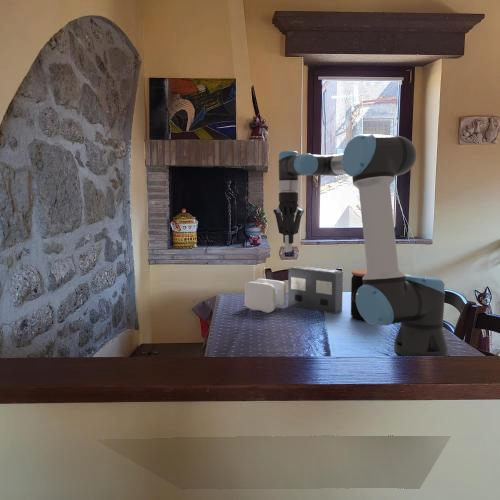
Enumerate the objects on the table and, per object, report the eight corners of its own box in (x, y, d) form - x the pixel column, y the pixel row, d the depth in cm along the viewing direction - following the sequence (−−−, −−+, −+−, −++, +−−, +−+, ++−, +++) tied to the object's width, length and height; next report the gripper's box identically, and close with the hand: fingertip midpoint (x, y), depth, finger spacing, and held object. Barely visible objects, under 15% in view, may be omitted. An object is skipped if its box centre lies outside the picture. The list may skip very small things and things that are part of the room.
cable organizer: (242, 308, 185) (242, 281, 184) (257, 303, 194) (257, 277, 192) (273, 314, 177) (272, 285, 175) (287, 308, 185) (287, 281, 183)
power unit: (334, 313, 176) (335, 273, 174) (287, 305, 189) (287, 267, 187) (342, 310, 181) (342, 270, 179) (295, 302, 194) (296, 265, 192)
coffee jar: (347, 320, 168) (348, 272, 165) (354, 313, 177) (355, 268, 175) (376, 323, 163) (377, 275, 160) (382, 316, 172) (383, 270, 170)
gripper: (307, 191, 173) (307, 251, 176) (279, 191, 181) (280, 249, 184) (297, 191, 167) (297, 254, 170) (269, 191, 175) (269, 251, 178)
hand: (288, 251), depth 177 cm, fingers closed
